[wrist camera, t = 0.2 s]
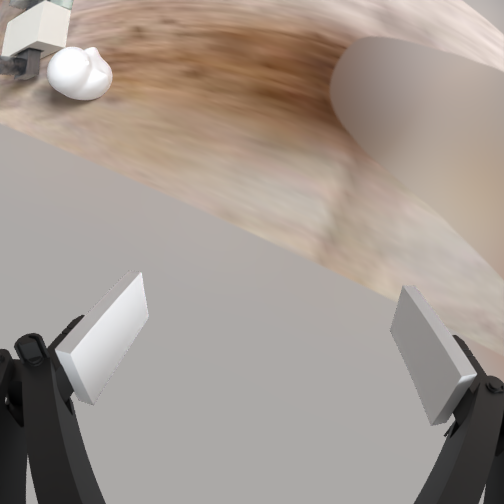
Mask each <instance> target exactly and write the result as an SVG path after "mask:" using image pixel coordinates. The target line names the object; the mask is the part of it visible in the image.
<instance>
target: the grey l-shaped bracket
mask: <svg viewBox="0 0 504 504" xmlns="http://www.w3.org/2000/svg"><path fill="white" fill-rule="evenodd" d="M43 1H45V0H39V1H37V2H35V3H34V4H32V5H30V6H29V7H27V8H26V11H27V10H29V9H30V8H32V7H34V6H36V5H37V4H39V3H41V2H43ZM46 1H49V2H50V0H46ZM40 55H41V50H40V49H35V48H30V47H29V48H27V49H25V50H23V51H21V52H19V53H18V54H17V57H9V56H0V74H2V75H15V79H21V80H28V79H30V78H32V77H35V76H37V75H38V74H39V64H40Z"/></svg>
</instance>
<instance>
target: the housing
mask: <svg viewBox="0 0 504 504" xmlns="http://www.w3.org/2000/svg"><path fill="white" fill-rule="evenodd" d="M70 14H71V10H68V9H66V8H64V7H61V6H59V5H56V4H54V3H51V2H49V1H46V0H45V1H43V2H41V3H39V4H37V5H36V6H34V7H32V8H30V9H29V10H27V11H25V12H24V13H22V14H21V15H19V16H17V17H16V18H14V19H13V20H11V21H10V22H8V24H7V28H6V33H5V38H4V43H3V49H2V55H1V56H9V57H17V54H18V53H19V52H21V51H23V50H25V49H27V48H29V47H30V48H35V49H40V50H41V55H40V59H41V58H43V57H45V56H47V55H50V54H52V53H54V52H57V51H59V50H62V49H64V48H65V46H66V39H67V32H68V25H69V19H70Z"/></svg>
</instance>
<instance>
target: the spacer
mask: <svg viewBox="0 0 504 504" xmlns="http://www.w3.org/2000/svg"><path fill="white" fill-rule="evenodd" d="M37 1H39V0H10V4H9V6H12V7H15V8H19V9H23V10H24V9H25V8H27V7H29V6H30V5H32V4H34V3H35V2H37Z"/></svg>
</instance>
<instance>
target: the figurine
mask: <svg viewBox="0 0 504 504" xmlns="http://www.w3.org/2000/svg"><path fill="white" fill-rule="evenodd" d="M47 78H48V81H49V83H50V84H51V86H52V87H53V88H54V89H55V90H57V91H58V92H60V93H62V94H64V95H65V96H67V97H69V98H72V99H77V100H92V99H96V98H99V97H101V96H102V95H103V94H105V93H106V91H107V90H108V89H109V87H110V85H111V82H112V71H111V68H110V66H109V65H108V64H107V63H106V62H105V61H104V60H103V59H102V58H101V56H100V55H99V52H98V50H97V48H95V47H91V48H88V49H85V50H82V49H81V48H78V47H67V48H64V49H62V50H60V51H58V52H57V53H56V54H55V55H54V56H53V57H52V59H51V60H50V62H49V64H48V68H47Z"/></svg>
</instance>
